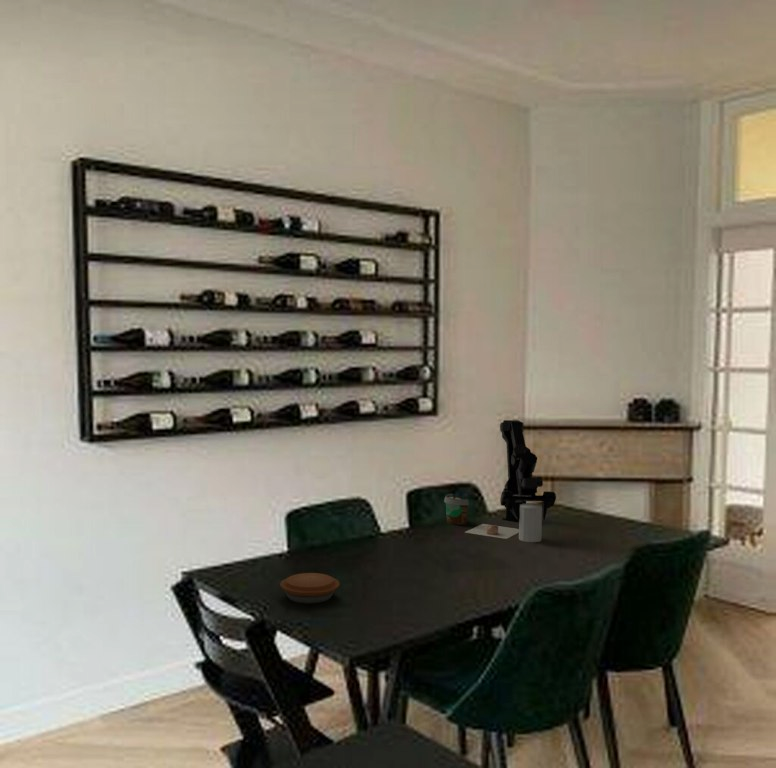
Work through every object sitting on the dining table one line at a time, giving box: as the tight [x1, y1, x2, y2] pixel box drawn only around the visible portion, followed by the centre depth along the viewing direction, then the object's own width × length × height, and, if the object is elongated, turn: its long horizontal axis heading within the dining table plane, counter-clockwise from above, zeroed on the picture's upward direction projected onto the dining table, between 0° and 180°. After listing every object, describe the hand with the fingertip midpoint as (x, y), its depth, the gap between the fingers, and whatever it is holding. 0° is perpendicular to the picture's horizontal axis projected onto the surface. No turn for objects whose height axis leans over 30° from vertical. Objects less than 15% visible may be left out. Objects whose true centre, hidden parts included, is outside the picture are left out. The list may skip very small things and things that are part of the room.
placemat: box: [464, 523, 519, 540], centre depth 277 cm, size 16×16×1 cm
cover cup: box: [518, 502, 543, 543], centre depth 266 cm, size 7×7×12 cm
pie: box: [279, 572, 341, 605], centre depth 203 cm, size 15×16×5 cm
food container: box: [443, 493, 470, 526], centre depth 289 cm, size 12×6×10 cm, turn 25°
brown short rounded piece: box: [487, 524, 499, 535], centre depth 273 cm, size 4×4×3 cm
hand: (530, 519), depth 265 cm, fingers open, 9 cm apart
